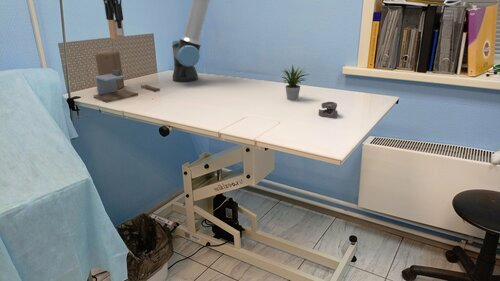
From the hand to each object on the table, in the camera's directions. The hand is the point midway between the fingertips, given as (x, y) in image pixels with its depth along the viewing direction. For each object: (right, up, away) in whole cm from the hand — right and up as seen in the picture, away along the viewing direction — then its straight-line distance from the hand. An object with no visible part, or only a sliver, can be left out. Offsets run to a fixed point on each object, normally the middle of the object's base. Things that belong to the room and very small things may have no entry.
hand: (116, 34), depth 186 cm
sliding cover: (-1, -31, -3) cm, 31 cm away
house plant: (+89, -35, -13) cm, 96 cm away
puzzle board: (+5, -30, +3) cm, 31 cm away
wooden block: (-8, -26, +15) cm, 31 cm away
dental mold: (+101, -44, -36) cm, 116 cm away
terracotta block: (0, -2, +1) cm, 2 cm away
